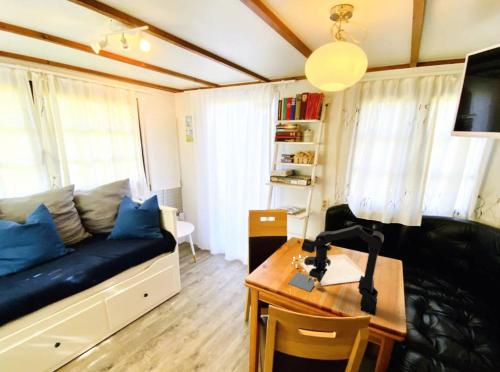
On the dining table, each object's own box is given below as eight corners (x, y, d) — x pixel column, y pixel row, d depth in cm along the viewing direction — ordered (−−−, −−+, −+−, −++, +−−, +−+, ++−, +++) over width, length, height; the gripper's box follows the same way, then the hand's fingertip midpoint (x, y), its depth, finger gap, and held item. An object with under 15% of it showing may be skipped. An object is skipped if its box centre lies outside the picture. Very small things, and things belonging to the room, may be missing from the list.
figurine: (311, 287, 127) (304, 270, 138) (313, 294, 130) (305, 277, 141) (326, 283, 127) (317, 266, 138) (327, 290, 130) (318, 273, 141)
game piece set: (325, 273, 146) (325, 267, 146) (293, 272, 147) (293, 266, 146) (317, 257, 165) (317, 252, 165) (289, 257, 166) (289, 252, 165)
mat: (318, 279, 139) (318, 278, 138) (309, 292, 127) (309, 291, 127) (297, 272, 146) (297, 271, 146) (288, 283, 134) (288, 282, 134)
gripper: (312, 245, 136) (311, 269, 140) (300, 258, 121) (298, 284, 124) (332, 250, 130) (329, 275, 133) (321, 264, 115) (319, 292, 118)
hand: (319, 281), depth 127 cm, fingers closed
